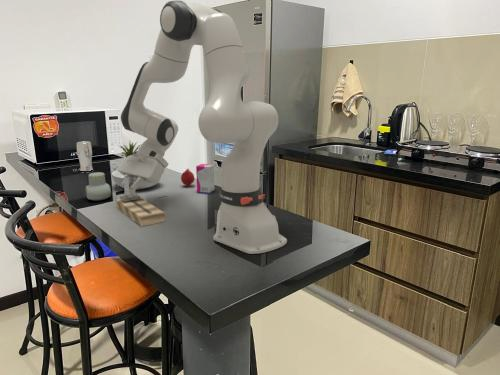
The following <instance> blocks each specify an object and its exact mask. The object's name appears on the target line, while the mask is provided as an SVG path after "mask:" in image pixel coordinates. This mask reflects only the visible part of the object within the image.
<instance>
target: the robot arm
mask: <svg viewBox="0 0 500 375" xmlns="http://www.w3.org/2000/svg"><path fill="white" fill-rule="evenodd" d="M159 23H160V31H159V33H158V36H157V39H156V43H155V47H154V52H153V55H152V57H151V59H150V60H149V61H147V62H144V63H143V64H142V66H141V67H140V69H139V71H138V72H137V73H138V74H137V75H136V78H135V81H134V84H133V86H132V89H131V91H130V94H129V97H128V100H127V101H126V103H125V105H124V108H123V110H122V111H121V114H120V121H121V124H122V127H123V128H124V129H125V130H126V131H128V132H132V133H134V134H135V133H136V134H137V135H139V136H140V137H141V136H142V137H144V138H146V140H145V141H143V142H142V143H141V144H142V145H141V144H140V146H139V148H138V149H137V150H136V151H137V152H136V154H133V155H130V156H128V157H126V156H125V157H124V159H123V160H122V162H121V163H120V165H119V166H118V167H117V170H118V172H120V173H121V174H122V175H124V177H128V176H130V177H134V178H136V179H137V181H136V182H135V183H132V184H131V186H130V188H132V189H134V190H135V191H137V190H136V189H137V187H138V186H139V185H141V184H142V183H143V182H144V181H148V182H152V183H155V182H157V181H158V180H159V179H160V177H161V178H162V175H164V172H165V169H166V168H168V166H169V163H168V161H167V160H166V159H165V158H164V156H165V153H166V152H167V150H169V148H170V147H171V145H172V144H173V142H174V141H175V138H176V136H177V135H178V132H179V125H178V124H177V123H176V121H174V119H172V118H170V117H166V116H164V115H162V114H160V113H158V112H155V111H153V110H151V109H149V108H146V106H145V104H144V101H145V99H146V98H147V97H146V96H147V94H148V91H149V89H150V87H151V85H152V84H155V83H157V84H158V83H159V84H170V83H174V82H177V81H179V80H181V79H182V78H184V76H185V74H186V71H187V69H188V64H189V61H190V57H191V51H192V48H193V47H194V46H202V49H203V55H204V59H205V63H206V68H207V73H208V77H209V83H210V91H209V98H208V101H207V102H206V105H205V106H204V107H203V108H202V109H201V111H200V113H199V116H198V121H197V122H198V123H197V124H198V128H199V132H200V134H201V136H202V137H203V138H204V139H205V140H206V141H208V142H211V143H218V144H229V143H233V145H232V148H231V150H230V152H229V153H228V154H227V155H226V156H225V157H224V158H223V159H222V162H221V165H220V166H221V169H220V170H221V172H220V173H221V176H220V177H221V186H220V190H219V201H220V202H221V203H220V205H219V208H218V211H217V217H216V229H215V230H216V231H215V233H214V235H212V236H213V237H212V239H213V241H215V242H217V243H218V242H219V243H221V244H223V245H226V246H227V247H230V248H233V249H236V250H238V251H241V252H243V253H246V254H249V255H250V254H251V255H253V254H254V255H255V254H262V253H268V252H271V251H274V250H277V249H279V248H282V247H283V246H285V245H286V244H287V242H288V239H287V238H286V237H285V236H284V235H282V234H280V232H279V230H280V229H279V224H278V221H277V217H276V216H275V215H274V214H272V212H270V210H269V209H268V207H267V206H266V205H265V203H264V199H265V198H266V197H265V196H266V194H263V193H262V190H261V187H260V170H261V161H262V157H263V154H264V150H265V148H266V146H267V142H268V140H269V139H270V138H271V136H272V135H273V134H274V133H275V132H276V131H277V129H278V126H279V114H278V111H277V109H276V108H275V106H273V105H272V104H270V103H267V102H263V101H260V100H251V101H250V100H249V101H246V100H245V101H243V100H242V94H241V93H242V87H244V86H245V85H246V83H247V82H248V81H249V78H250V72H249V71H250V70H249V68H248V63H247V58H246V54H245V50H244V46H243V42H242V40H241V36H240V33H239V31H238V28H237V25H236V24H235V21H234V20H233V18H232V16H230V15H229V14H227V13H225V12H223V11H221V10H219V9H218V8H217V9H215V8H210V7H208V6H206V5H202V4H200V3H196V2H187V1H183V0H170V1H168V2H166V3H165V4H164V5H163V7H162V9H161V11H160V16H159ZM160 180H161V179H160ZM121 185H122V186H123V187H124V181H123V182H122V184H121ZM123 187H122V188H123Z"/></svg>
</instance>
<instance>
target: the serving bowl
mask: <svg viewBox="0 0 500 375" xmlns="http://www.w3.org/2000/svg"><path fill="white" fill-rule="evenodd" d="M111 176H112V180H113V182H114V183H115V185H117V186H119V187H121V188H123V189H124V187H123V186H122V185H121V184H122V182H123V181H124V179H123V178H124V175H122V174H121V173H120V172H118V169H117V170H114V171H113V172H112V173H111ZM161 178H162V176H161V177H160V179H159V180H158V181H157V182H155V183H152V182H148V181H144V182H143V183H142V184H141V185H139V186H138V187H137V189H136V190H135V191H137V190H138V191H139V190H144V189H147V188H152V187H154V186H155V185H157V184H158V183H160V181H161ZM134 181H135V182H136V181H137V179H136V178H134Z"/></svg>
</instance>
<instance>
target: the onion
mask: <svg viewBox="0 0 500 375" xmlns="http://www.w3.org/2000/svg"><path fill="white" fill-rule="evenodd" d="M185 169H186V170H184V171H183V172H182V174H181V176H180V180H181V182H182V184H183V185H184V186H186V187H190V186H191V185H193V184H194V182H195V175H194V173H193V172H192V171H190V169H189V168H185Z"/></svg>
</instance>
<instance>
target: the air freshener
mask: <svg viewBox="0 0 500 375" xmlns="http://www.w3.org/2000/svg"><path fill="white" fill-rule="evenodd" d="M87 177H88V184H87V185H85V194H86V199H88V200H89V201H93V202H94V201H102V200H103V201H104V200H107V199H108V198H110V197H111V195H112V191H111V190H112V189H111V186H110V184H109V183H107V182H106V173H104V172H98V171H97V172H90V173H89V174H88V176H87Z"/></svg>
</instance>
